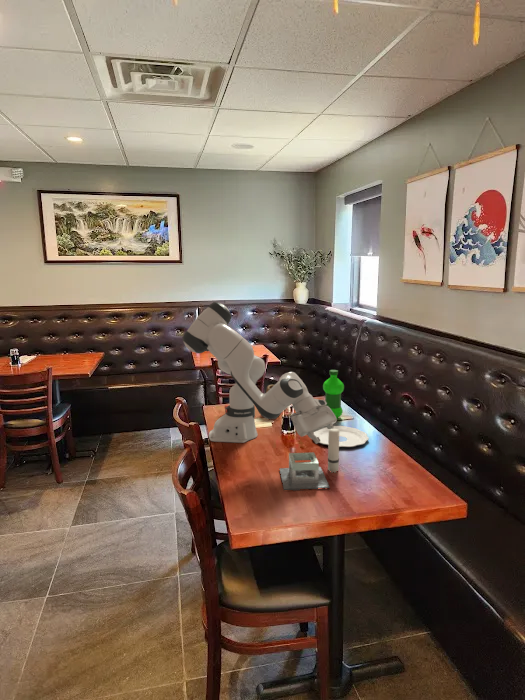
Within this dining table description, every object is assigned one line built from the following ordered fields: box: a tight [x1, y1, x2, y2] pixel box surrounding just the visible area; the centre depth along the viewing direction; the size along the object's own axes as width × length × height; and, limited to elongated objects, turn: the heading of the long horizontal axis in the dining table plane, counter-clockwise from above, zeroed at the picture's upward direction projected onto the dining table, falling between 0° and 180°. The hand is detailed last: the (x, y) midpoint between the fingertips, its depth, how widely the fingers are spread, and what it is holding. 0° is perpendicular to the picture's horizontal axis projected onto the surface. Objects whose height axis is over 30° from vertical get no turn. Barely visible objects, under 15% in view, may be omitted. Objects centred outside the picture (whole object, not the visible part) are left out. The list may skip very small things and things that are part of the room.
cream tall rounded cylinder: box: [327, 429, 340, 473], centre depth 168 cm, size 4×4×16 cm
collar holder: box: [279, 451, 330, 491], centre depth 162 cm, size 16×16×8 cm
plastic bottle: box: [322, 369, 345, 420], centre depth 226 cm, size 10×10×25 cm
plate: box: [314, 425, 370, 448], centre depth 201 cm, size 25×25×2 cm
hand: (326, 439), depth 169 cm, fingers open, 8 cm apart
